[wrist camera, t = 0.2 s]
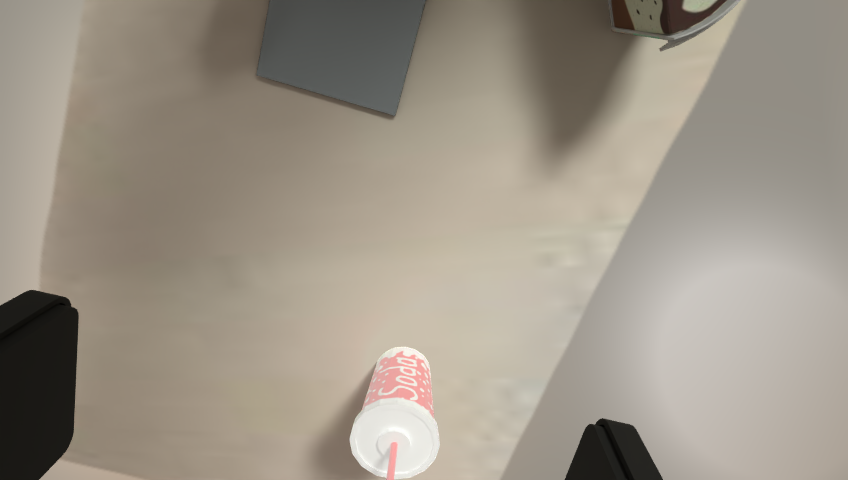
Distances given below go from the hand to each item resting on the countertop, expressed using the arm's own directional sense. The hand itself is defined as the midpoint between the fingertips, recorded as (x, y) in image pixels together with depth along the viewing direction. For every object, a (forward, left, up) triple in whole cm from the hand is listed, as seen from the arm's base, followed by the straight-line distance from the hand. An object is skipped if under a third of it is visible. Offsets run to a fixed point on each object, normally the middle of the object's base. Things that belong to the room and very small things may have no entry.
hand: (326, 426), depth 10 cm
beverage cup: (+18, +4, -31) cm, 36 cm away
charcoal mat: (-7, -7, -31) cm, 33 cm away
